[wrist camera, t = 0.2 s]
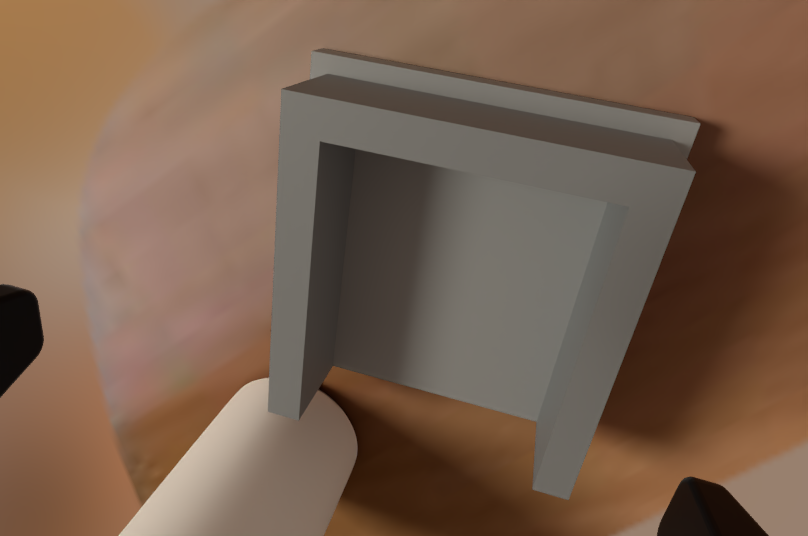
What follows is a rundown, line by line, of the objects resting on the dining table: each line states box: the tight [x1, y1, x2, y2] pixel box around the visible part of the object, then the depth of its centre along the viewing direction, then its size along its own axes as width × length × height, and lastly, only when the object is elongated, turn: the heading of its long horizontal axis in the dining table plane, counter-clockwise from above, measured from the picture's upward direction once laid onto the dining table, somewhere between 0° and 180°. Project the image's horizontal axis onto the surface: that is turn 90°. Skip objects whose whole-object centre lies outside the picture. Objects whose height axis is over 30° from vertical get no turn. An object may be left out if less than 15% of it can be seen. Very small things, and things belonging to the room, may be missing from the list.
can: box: [119, 378, 358, 536], centre depth 22 cm, size 6×6×12 cm
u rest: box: [268, 48, 700, 500], centre depth 19 cm, size 12×12×4 cm
